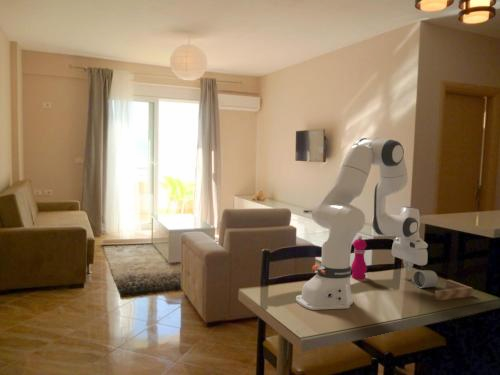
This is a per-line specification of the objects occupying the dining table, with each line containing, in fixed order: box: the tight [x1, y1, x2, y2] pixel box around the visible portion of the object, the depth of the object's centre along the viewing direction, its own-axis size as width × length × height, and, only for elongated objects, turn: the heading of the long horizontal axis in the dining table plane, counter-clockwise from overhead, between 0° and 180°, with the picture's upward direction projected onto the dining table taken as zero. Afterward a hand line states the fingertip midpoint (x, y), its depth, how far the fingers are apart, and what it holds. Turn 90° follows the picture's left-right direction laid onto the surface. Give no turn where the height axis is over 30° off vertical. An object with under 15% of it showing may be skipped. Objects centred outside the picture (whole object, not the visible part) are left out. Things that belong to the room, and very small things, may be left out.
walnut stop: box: [434, 279, 474, 301], centre depth 173 cm, size 18×12×4 cm, turn 110°
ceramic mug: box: [412, 269, 439, 289], centre depth 183 cm, size 11×8×8 cm
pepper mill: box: [350, 235, 368, 280], centre depth 194 cm, size 7×7×20 cm
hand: (408, 270), depth 192 cm, fingers closed
